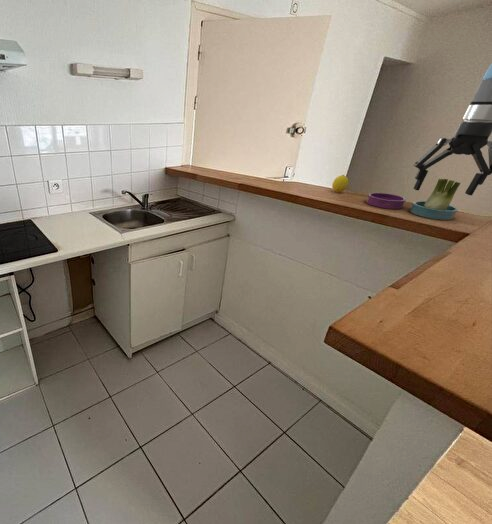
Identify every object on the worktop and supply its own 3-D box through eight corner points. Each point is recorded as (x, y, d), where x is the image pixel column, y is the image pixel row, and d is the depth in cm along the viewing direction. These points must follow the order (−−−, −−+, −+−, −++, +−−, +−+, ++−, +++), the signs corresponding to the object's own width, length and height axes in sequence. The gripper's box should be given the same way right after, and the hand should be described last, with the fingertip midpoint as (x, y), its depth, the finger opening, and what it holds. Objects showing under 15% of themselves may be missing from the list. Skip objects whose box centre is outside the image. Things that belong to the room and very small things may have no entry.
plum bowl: (397, 203, 111) (401, 194, 109) (406, 211, 102) (410, 202, 100) (363, 200, 115) (366, 191, 113) (368, 207, 106) (372, 198, 105)
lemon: (344, 192, 125) (351, 174, 121) (343, 195, 121) (350, 176, 117) (330, 191, 127) (336, 172, 124) (329, 193, 124) (335, 175, 120)
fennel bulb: (445, 217, 95) (464, 181, 90) (428, 216, 96) (446, 181, 90) (433, 211, 100) (451, 177, 94) (417, 211, 101) (434, 177, 95)
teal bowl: (444, 212, 101) (449, 203, 99) (458, 223, 92) (464, 213, 90) (405, 208, 105) (409, 199, 103) (415, 218, 96) (420, 208, 95)
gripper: (529, 122, 83) (485, 193, 93) (421, 119, 92) (392, 185, 102) (547, 123, 77) (498, 199, 87) (430, 120, 86) (398, 190, 96)
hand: (441, 191), depth 95 cm, fingers open, 13 cm apart
